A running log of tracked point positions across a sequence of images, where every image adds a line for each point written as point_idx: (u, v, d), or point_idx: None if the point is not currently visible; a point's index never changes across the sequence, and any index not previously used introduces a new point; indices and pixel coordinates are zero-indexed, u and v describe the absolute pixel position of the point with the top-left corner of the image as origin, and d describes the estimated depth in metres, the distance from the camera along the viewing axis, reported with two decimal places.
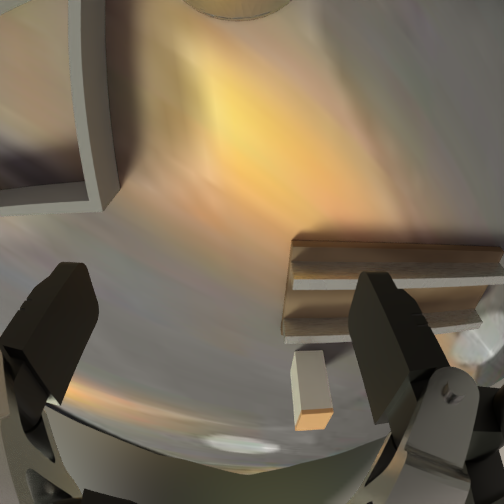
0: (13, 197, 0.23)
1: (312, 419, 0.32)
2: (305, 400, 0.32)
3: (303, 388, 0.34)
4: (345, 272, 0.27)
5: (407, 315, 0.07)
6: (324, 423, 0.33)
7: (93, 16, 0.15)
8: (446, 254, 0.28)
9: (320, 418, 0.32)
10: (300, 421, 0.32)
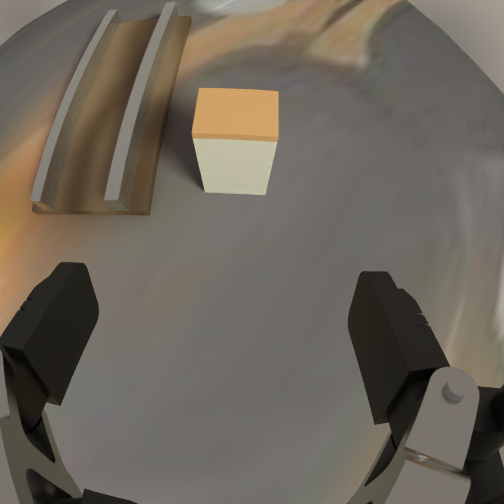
0: None
1: (221, 113, 0.18)
2: None
3: None
4: None
5: (407, 315, 0.07)
6: (247, 93, 0.18)
7: None
8: None
9: (220, 102, 0.18)
10: (226, 131, 0.17)
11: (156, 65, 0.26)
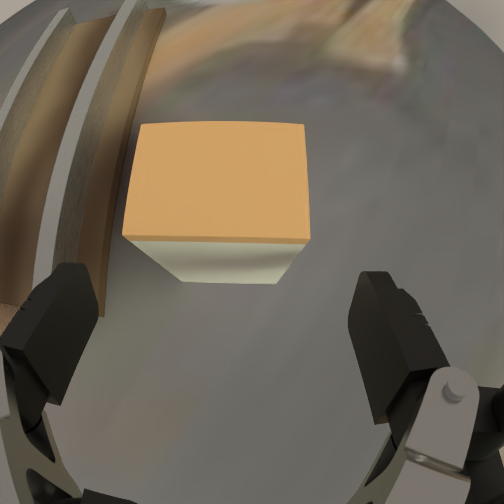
0: None
1: (183, 183, 0.08)
2: None
3: None
4: None
5: (407, 315, 0.07)
6: (239, 130, 0.09)
7: None
8: None
9: (182, 154, 0.09)
10: (193, 229, 0.08)
11: (108, 78, 0.17)
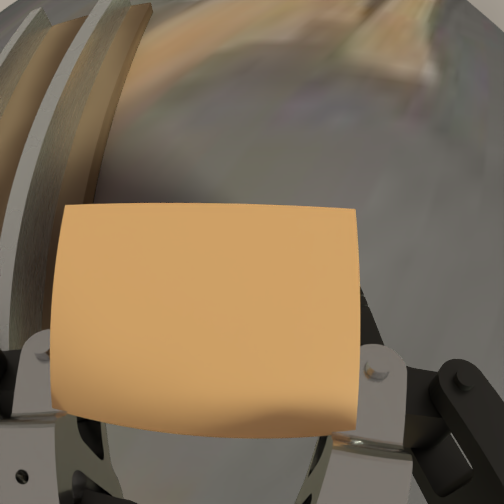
0: None
1: (135, 335, 0.04)
2: None
3: None
4: None
5: None
6: (236, 224, 0.05)
7: None
8: None
9: (131, 275, 0.05)
10: (158, 422, 0.04)
11: (75, 93, 0.13)
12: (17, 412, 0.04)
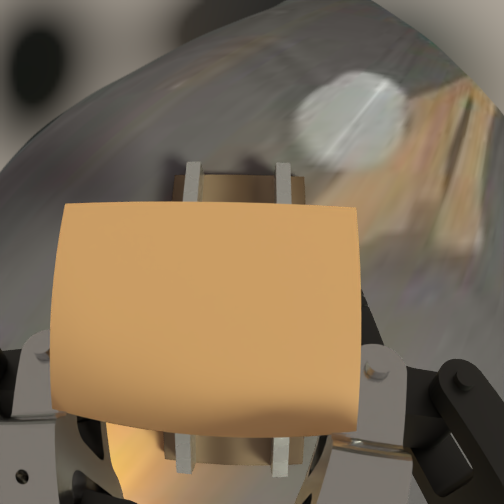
0: None
1: (135, 334, 0.04)
2: None
3: None
4: None
5: None
6: (236, 223, 0.05)
7: None
8: None
9: (131, 274, 0.05)
10: (159, 421, 0.04)
11: None
12: (17, 412, 0.04)
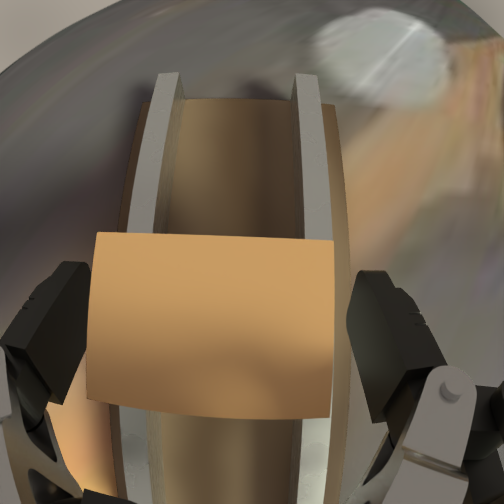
0: None
1: (159, 338, 0.06)
2: None
3: None
4: None
5: (404, 314, 0.07)
6: (238, 253, 0.06)
7: None
8: None
9: (155, 292, 0.06)
10: (175, 406, 0.06)
11: None
12: None
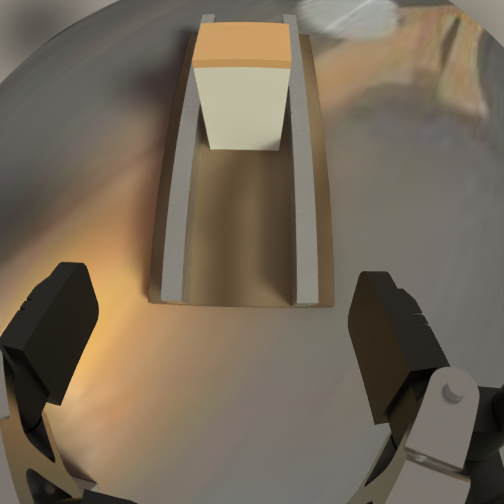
0: None
1: (226, 42, 0.14)
2: None
3: None
4: None
5: (407, 315, 0.07)
6: (254, 25, 0.14)
7: None
8: (180, 97, 0.24)
9: (225, 33, 0.14)
10: (231, 56, 0.14)
11: None
12: None
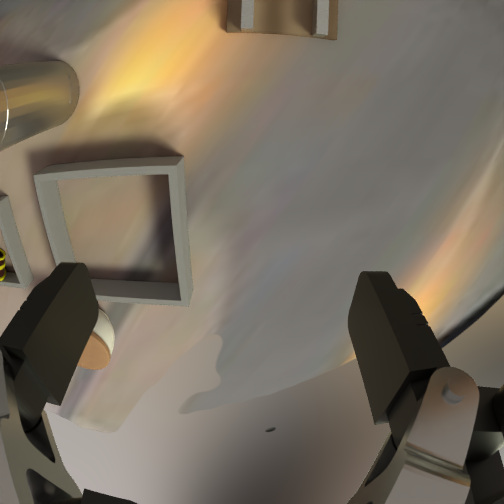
0: None
1: None
2: None
3: None
4: None
5: (407, 315, 0.07)
6: None
7: (70, 167, 0.34)
8: None
9: None
10: None
11: None
12: None
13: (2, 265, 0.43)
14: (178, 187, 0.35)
